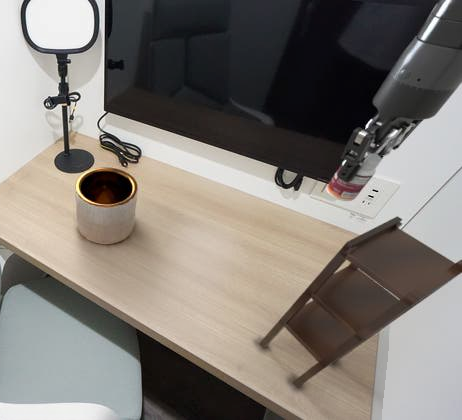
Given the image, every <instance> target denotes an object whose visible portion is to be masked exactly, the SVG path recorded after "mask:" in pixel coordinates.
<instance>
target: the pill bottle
mask: <svg viewBox="0 0 462 420" xmlns="http://www.w3.org/2000/svg"><path fill="white" fill-rule="evenodd" d="M366 153H367V152H366ZM356 154H357V153H356ZM345 162H346V160H343V161H342V162H341V164H340V166H339V167H338V169H337V170H336V172H335V173H334V175H332V178H331V179H330V181H329V183H328V184H327V186H326V188H325V191H326V192H327V194H328V195H329V196H330V197H332V198H334V199H336V200H338V201H342V202H352V201H355V199H356V198H357V197H358V196H359V194H360V193H362V190H363V189H364V188H365V187H366V185H367V184H368V183H369V182H370V180H371V179H372V178H373V176H374V175H375V174H376V172H377V169H376V168H377V167H378V166H379V164H380V163H381V162H382V160H381V157H380V156H379V155H378V154H373V155H372V156H371V157H370V158H369V159H368V160H367V161H366V163H365V164H364V165H363V166H362V168H361V169H360V170H359V172H358V173H357V174H356V176H355V177H354V179H353V180H352V181H350V182H345V181H343V180H341V179H340V178H338V177H337V174H338V172H339V171H340V170H341V168H342V167H343V165H344V164H345Z"/></svg>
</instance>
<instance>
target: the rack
mask: <svg viewBox="0 0 462 420" xmlns="http://www.w3.org/2000/svg"><path fill="white" fill-rule="evenodd" d="M402 221H403V218H401V217H399V216H397V215H396V216H395V217H393V218H391V219H389V220H387V221H385V222H383V223H381V224H379V225H377V226H375V227H373V228H371V229H369V230H367V231H365V232H364V233H361V234H360V235H357V236H356V237H354V238H352V239H350V240H348V241H346V242H345V243H344V245H343V246H342V247H341V248H340V249H339V250H338V251H337V252H336V254H335V255H334V256H333V257H332V258H331V260H330V261H329V262H328V263H327V264H326V266H324V267H323V269H322V270H321V272H319V274H318V275H317V276H316V277H315V278H314V279H313V280H312V282H311V283H310V284H309V285H308V286H307V287H306V288H305V290H303V292H302V293H301V294H300V295H299V296H298V298H297V299H296V300H295V301H294V302H293V304H292V305H291V306H290V307H289V308H288V309H287V310H286V312H284V314H283V315H282V316H281V318H280V319H279V320H278V321H277V322H276V323H275V324H274V325H273V327H272V328H271V329H270V330H269V331H268V332H267V334H265V336H264V337H263V338H262V339H261V341H260V342H259V343H258V345H259V346H260V347H261V349H265V348H267V347H268V345H270V343H271V342H272V341H273V340H274V339H275V338H276V337H277V336H278V335H279V334H280V333H281V331H282V330H283V329H284V328H285V329H286V330H287V332H289V333H290V334H291V336H292V337H293V338H294V339H295V340H296V341H297V342H298V343H299V344H300V345H301V346H302V347H303V348H304V349H305V350H306V352H308V353H309V354H310V355H311V356H312V358H314V360H316V361H317V363H316V364H314V365H313V366H311V367H310V368H309V369H307V370H306V371H305V372H303V373H301V375H299V376H298V377H297V378H296V379H294V380H293V381H292V382H291V383H292V384H293V385H294V387H295V388H296V389H297V388H298V389H299V387H301V386H302V385H304V384H305V383H307V382H308V381H310V380H311V379H313V377H315V376H317V374H319V373H320V372H322V371H324V370H325V369H326V368H327V367H329V366H330V365H334V364H335V363H337V362H338V361H340V360H341V359H342V358H344V357H345V356H347V355H348V354H349V353H351V352H352V351H354V350H355V349H356V348H358V347H359V346H361V345H362V344H363V343H365V342H367V341H368V340H369V339H370V338H372V337H374V336H375V335H376V334H377V333H379V332H381V331H382V330H383V329H385V328H386V327H388V326H389V325H391V324H392V323H393V322H396V320H398V319H399V318H400V317H402V316H403V315H405V314H406V313H407V312H409V311H410V310H412V309H413V308H415V307H416V306H417V305H419V304H420V303H422V302H423V301H424V300H426V299H427V298H429V297H430V296H432V295H433V294H435V292H437V291H438V290H440V289H441V288H443V287H444V286H445V285H447V284H448V283H449V282H451V281H453V280H454V279H456V278H457V277H458V276H460V275H461V274H462V259H459V260H458V261H456V262H454V261H453V260H451V259H449V258H448V257H446V256H444V255H443V254H442V253H440V252H438V251H437V250H435V249H434V248H431V247H430V246H428V245H427V244H425V243H424V242H422V241H420V240H418V239H417V238H416V237H413V236H412V235H411V234H409V233H407V232H406V231H404V230H403V229H401V228H400V227H402V226H403V223H402ZM346 261H348V262H349V264H348V265H347V266H345V267H343V268H342V269H340V270H339V268H340V267H341V266H343V264H344V263H345V262H346ZM311 299H312V300H311ZM310 300H311V301H310Z"/></svg>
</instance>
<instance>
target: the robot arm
mask: <svg viewBox="0 0 462 420" xmlns="http://www.w3.org/2000/svg"><path fill="white" fill-rule="evenodd" d="M461 84H462V0H438V1H437V3H436V4H435V6H434V7H433V9H432V10H431V12H430V13H429V15H428V16H427V18H426V19H425V21H424V23H422V26H421V27H420V28H419V30H418V32H417V34H416V35H415V36H414V38H413V39H412V40H411V42H410V43H409V44H408V46H407V47H406V48H405V49H404V50H403V52H402V54H400V56H399V58H398V59H397V60H396V62H395V64H394V65H393V67H392V68H391V70H390V71H389V73H388V74H387V76H386V78H385V79H384V81H383V82H382V84H381V85H380V87H379V89H378V90H377V92H376V94H375V95H374V97H373V98H372V104H373V106H374V107H376V109H377V111H378V113H377V114H376V115H375V116H374V117H372V118H371V119H370V120H369V121H368V122H367V124H365V129H363V128H361V127H359V126H358V127H356V128H355V129H353V131H352V133H351V135H350V137H349V139H348V141H347V143H346V145H345V147H344V149H343V151H342V154H341V156H340V158H341V159H343V161H345V160H346V162H345V164H344V165H343V167H342V168H341V170H340V171H339V172H338V174H337V177H338V178H340V179H341V180H343V181H345V182H350V181H352V180H353V179H354V177H355V176H356V174H357V173H358V172H359V170H360V169H361V168H362V166H363V165H364V164H365V163H366V161H367V160H368V159H369V158H370V157H371V156H372V155H373V154H378V155H379V156H380V157H381V161H383V159H384V157H387V156H389V154H391V152H392V150H393V151H396V150H398V149H399V148H400V146H401V145H402V144H403V143H404V142H405V141H406V140H407V139H408V137H409V136H410V135H411V134H412V133H413V132H414V131H415V130H416V129H417V127H418V126H419V125H420V124H421V123H422V122H423V121H424V120H429V119H431V118H433V117H435V116H436V115H437V114H438V113H439V111H440V110H441V109H442V108H443V106H444V105H445V104H446V103H447V102H448V100H449V99H450V98H451V97H452V95H453V94H454V93H455V92H456V91H457V90H458V88H459V87H460V85H461ZM366 152H367V153H366ZM356 153H357V154H356Z"/></svg>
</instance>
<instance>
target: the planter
mask: <svg viewBox="0 0 462 420" xmlns="http://www.w3.org/2000/svg"><path fill="white" fill-rule="evenodd" d="M138 191H139V186H138V183H137V180H136V179H135V177H134V176H133V175H131V173H129V172H127V171H125V170H124V169H121V168H115V167H108V166H107V167H106V166H105V167H104V166H103V167H96V168H93V169H90V170H87V171H85V172H84V173H82V174H81V175H80V176H79V177H78V178H77V180H76V181H75V184H74V192H75V193H74V194H75V216H76V217H75V218H76V219H75V221H76V227H77V230H78V231H79V232H80V235H82V237H84V238H85V239H87V240H88V241H90V242H92V243H95V244H101V245H111V244H117V243H119V242H121V241H124V240H125V239H126V238H128V237H129V236H130V235H131V233H132V231H133V230H134V226H135V219H136V211H137V201H138V193H139V192H138Z"/></svg>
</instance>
